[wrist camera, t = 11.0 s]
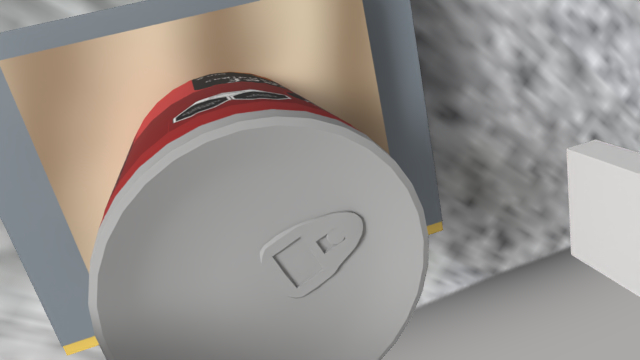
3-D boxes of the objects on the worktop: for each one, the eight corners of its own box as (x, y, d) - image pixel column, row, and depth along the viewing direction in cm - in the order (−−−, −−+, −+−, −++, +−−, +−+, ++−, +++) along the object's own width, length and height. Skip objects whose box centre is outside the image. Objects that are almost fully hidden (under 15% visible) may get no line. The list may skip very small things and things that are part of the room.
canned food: (352, 145, 23) (491, 243, 13) (238, 278, 23) (284, 475, 13) (217, 26, 20) (257, 28, 10) (89, 180, 20) (1, 335, 10)
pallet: (343, -19, 23) (358, -22, 21) (388, 221, 27) (404, 235, 25) (14, 57, 20) (-3, 60, 18) (118, 308, 24) (113, 331, 23)
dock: (358, -41, 28) (401, -57, 23) (399, 196, 33) (443, 230, 28) (-23, 44, 25) (-80, 50, 19) (87, 294, 30) (66, 356, 24)
